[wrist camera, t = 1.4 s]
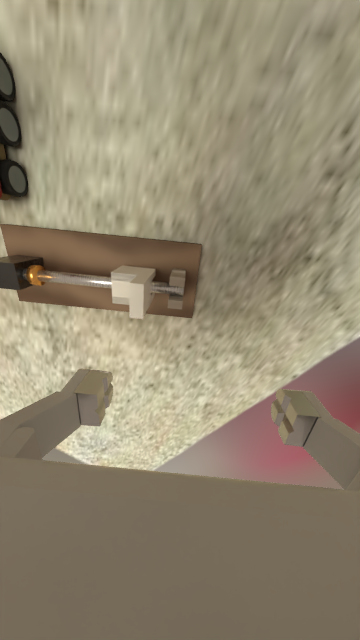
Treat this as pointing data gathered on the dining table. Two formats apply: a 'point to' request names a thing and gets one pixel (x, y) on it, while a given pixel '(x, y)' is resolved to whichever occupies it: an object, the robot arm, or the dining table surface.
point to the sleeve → (133, 288)
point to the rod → (58, 276)
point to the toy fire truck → (9, 139)
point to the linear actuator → (105, 266)
